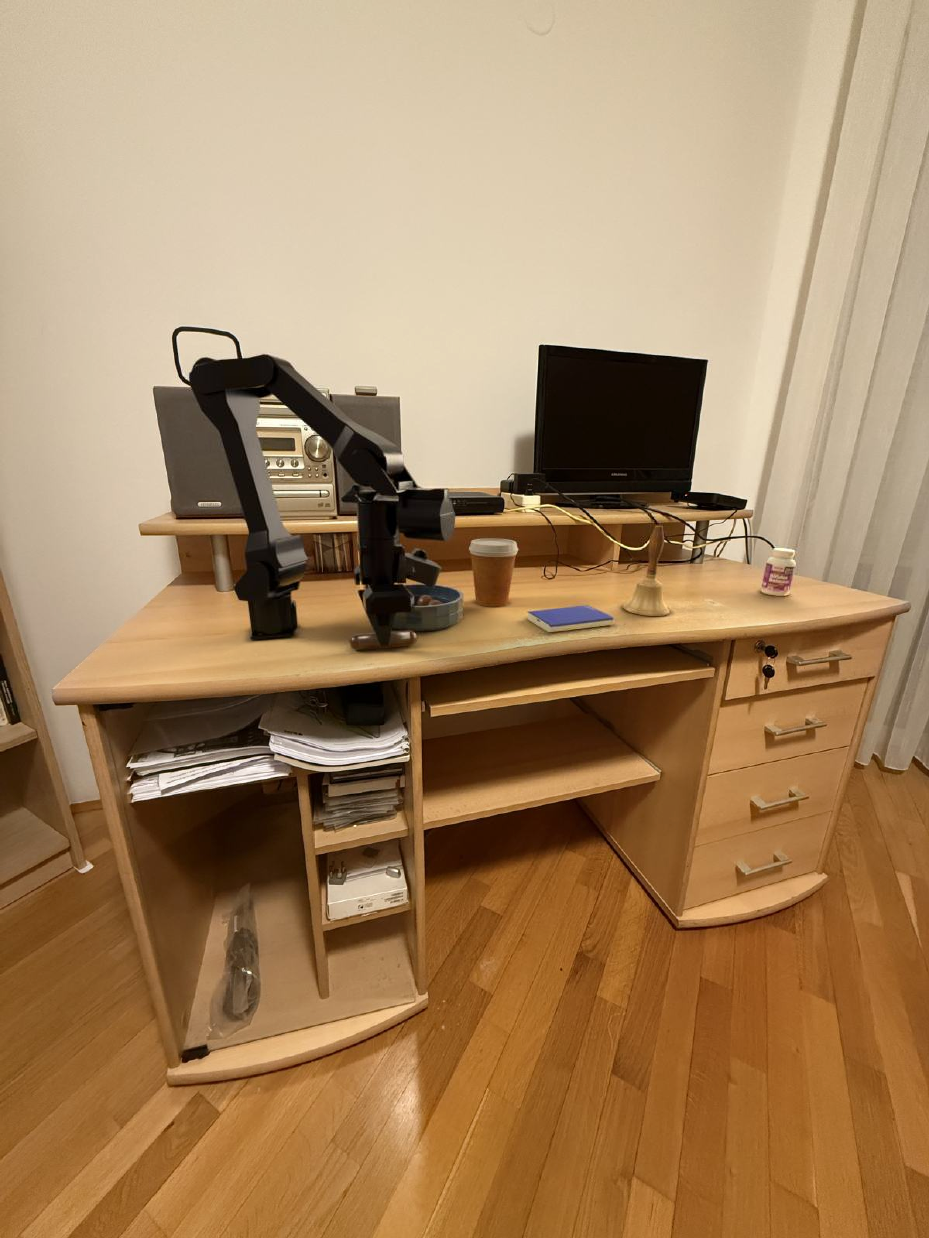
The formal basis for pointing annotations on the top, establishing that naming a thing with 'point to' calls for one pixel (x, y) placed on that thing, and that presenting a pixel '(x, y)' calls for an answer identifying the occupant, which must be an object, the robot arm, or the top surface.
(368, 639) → the stick
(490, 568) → the disposable coffee cup
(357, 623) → the top surface
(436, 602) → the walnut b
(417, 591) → the bowl
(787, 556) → the pill bottle
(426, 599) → the glossy brown ball
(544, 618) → the hard drive
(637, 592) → the hand bell
